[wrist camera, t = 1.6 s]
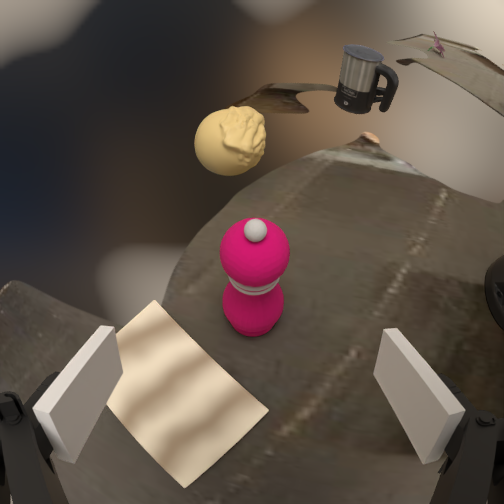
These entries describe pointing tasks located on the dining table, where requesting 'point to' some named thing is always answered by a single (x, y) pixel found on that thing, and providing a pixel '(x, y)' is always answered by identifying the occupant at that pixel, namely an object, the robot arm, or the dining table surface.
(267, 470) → the dining table surface
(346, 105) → the milk frother
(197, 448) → the serving board
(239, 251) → the pepper mill
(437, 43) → the lily
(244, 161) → the sculpture
